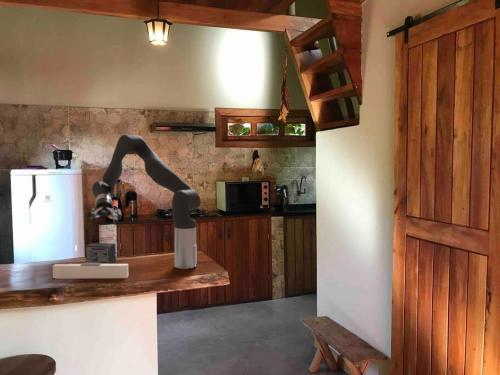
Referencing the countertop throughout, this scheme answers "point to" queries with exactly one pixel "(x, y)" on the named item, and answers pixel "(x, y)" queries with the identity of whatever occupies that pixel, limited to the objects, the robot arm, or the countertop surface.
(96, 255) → the small box
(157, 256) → the countertop surface
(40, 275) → the countertop surface
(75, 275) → the board
